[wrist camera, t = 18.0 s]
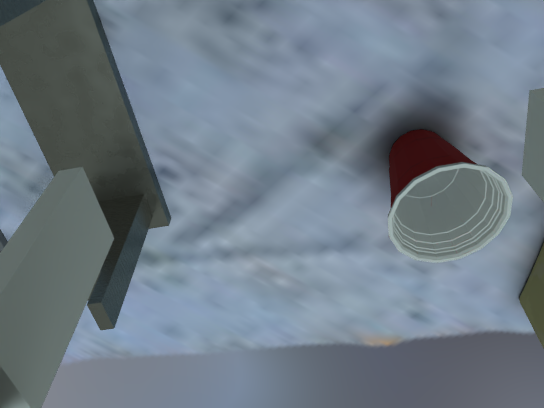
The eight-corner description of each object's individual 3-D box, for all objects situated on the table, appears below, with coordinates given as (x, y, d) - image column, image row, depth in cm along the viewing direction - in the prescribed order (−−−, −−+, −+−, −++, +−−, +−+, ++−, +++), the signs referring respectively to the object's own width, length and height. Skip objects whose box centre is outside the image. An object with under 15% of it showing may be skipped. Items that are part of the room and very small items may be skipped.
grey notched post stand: (-45, -51, 43) (-214, -9, 28) (66, -75, 42) (-48, -45, 27) (88, 230, 59) (25, 353, 44) (171, 217, 58) (135, 338, 43)
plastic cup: (406, 214, 58) (434, 286, 48) (345, 154, 54) (362, 218, 44) (489, 155, 54) (539, 220, 44) (431, 85, 50) (471, 138, 40)
